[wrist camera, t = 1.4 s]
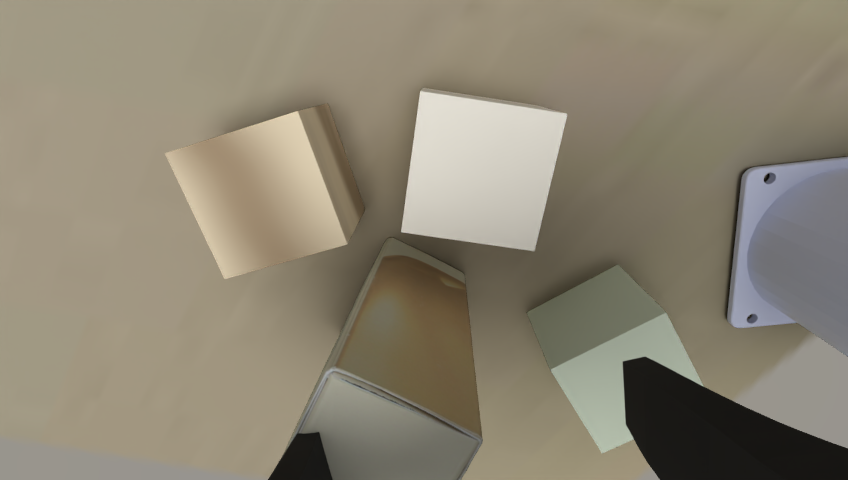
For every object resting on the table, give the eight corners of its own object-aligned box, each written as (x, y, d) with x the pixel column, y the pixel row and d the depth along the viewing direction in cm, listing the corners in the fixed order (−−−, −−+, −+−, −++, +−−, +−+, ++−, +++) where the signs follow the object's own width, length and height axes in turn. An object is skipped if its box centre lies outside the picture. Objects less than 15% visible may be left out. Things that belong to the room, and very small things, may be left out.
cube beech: (328, 103, 21) (297, 111, 16) (365, 208, 22) (347, 244, 17) (224, 136, 21) (164, 153, 16) (267, 237, 23) (224, 279, 18)
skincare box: (413, 370, 25) (380, 615, 13) (337, 335, 24) (233, 555, 13) (470, 267, 23) (492, 444, 11) (389, 228, 22) (324, 368, 11)
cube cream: (536, 104, 20) (567, 113, 16) (512, 213, 22) (534, 251, 17) (422, 87, 20) (420, 91, 16) (407, 198, 22) (401, 232, 17)
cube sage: (617, 263, 23) (666, 312, 18) (657, 340, 24) (712, 403, 20) (526, 311, 24) (550, 369, 19) (569, 382, 25) (602, 453, 20)
